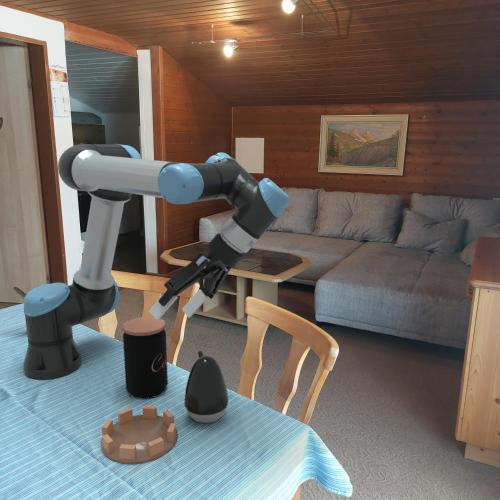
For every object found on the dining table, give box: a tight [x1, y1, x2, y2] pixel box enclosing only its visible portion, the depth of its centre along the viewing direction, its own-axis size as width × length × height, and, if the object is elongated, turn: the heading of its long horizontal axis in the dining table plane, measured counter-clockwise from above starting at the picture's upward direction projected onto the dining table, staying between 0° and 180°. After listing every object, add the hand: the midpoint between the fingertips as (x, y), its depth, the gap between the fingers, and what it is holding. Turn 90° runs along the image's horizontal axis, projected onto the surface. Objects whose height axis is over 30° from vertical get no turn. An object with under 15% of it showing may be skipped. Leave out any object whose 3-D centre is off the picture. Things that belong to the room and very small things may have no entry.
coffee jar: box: [122, 316, 169, 399], centre depth 116 cm, size 11×11×18 cm
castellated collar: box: [100, 405, 179, 465], centre depth 98 cm, size 16×16×3 cm
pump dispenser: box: [183, 350, 229, 424], centre depth 105 cm, size 10×10×15 cm
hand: (170, 314), depth 101 cm, fingers open, 13 cm apart
